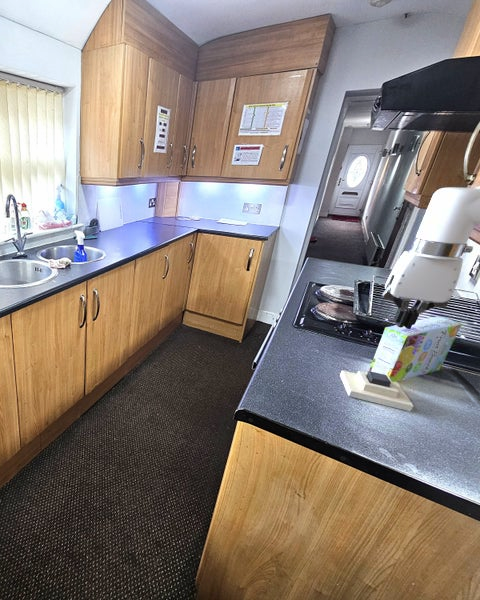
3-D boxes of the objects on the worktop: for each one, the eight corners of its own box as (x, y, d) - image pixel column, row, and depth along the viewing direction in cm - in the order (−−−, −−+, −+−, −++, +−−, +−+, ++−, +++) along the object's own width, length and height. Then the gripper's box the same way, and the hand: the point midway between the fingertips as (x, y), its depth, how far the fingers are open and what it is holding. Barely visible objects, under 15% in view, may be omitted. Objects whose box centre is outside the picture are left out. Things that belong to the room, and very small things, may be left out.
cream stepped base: (395, 388, 85) (400, 376, 84) (410, 411, 77) (417, 399, 76) (339, 375, 90) (343, 364, 89) (348, 396, 82) (353, 384, 80)
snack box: (416, 360, 97) (438, 314, 91) (440, 371, 92) (465, 323, 86) (364, 373, 91) (384, 326, 85) (387, 385, 86) (410, 336, 80)
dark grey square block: (383, 380, 83) (386, 374, 82) (388, 388, 80) (391, 382, 80) (365, 376, 85) (368, 370, 84) (370, 384, 82) (372, 378, 81)
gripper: (475, 249, 69) (437, 326, 76) (384, 241, 76) (357, 313, 83) (497, 257, 63) (454, 340, 70) (396, 248, 69) (366, 325, 76)
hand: (402, 325), depth 76 cm, fingers closed
